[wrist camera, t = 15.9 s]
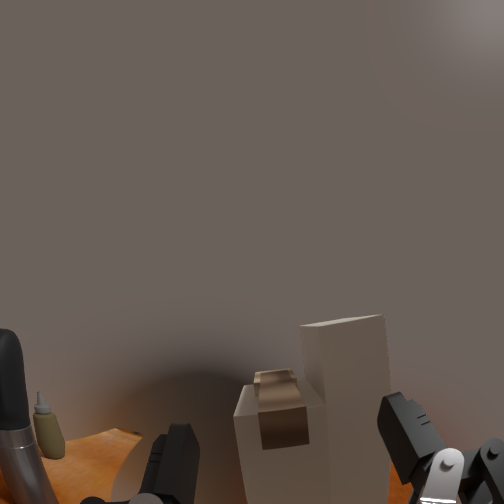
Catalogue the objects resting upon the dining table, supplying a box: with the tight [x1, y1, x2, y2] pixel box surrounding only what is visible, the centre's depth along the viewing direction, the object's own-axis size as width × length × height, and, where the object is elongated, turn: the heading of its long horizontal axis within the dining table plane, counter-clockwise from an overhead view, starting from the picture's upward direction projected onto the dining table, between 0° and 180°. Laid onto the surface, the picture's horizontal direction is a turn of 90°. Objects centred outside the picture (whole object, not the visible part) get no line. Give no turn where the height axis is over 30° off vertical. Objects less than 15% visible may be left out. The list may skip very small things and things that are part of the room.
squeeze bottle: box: [33, 392, 65, 459], centre depth 45 cm, size 8×8×18 cm
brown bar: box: [254, 368, 310, 450], centre depth 28 cm, size 24×5×3 cm, turn 178°
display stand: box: [234, 314, 391, 504], centre depth 29 cm, size 15×16×32 cm
